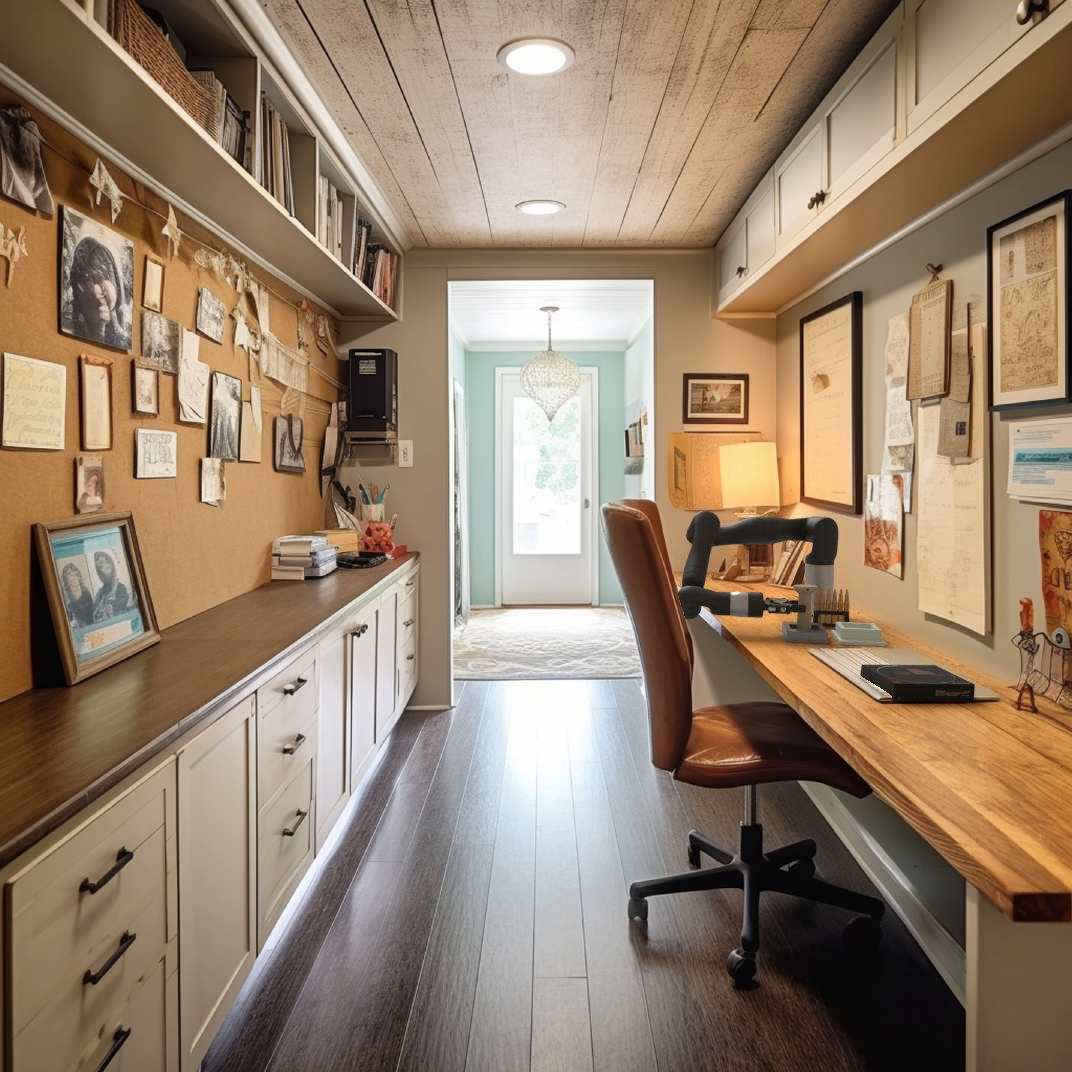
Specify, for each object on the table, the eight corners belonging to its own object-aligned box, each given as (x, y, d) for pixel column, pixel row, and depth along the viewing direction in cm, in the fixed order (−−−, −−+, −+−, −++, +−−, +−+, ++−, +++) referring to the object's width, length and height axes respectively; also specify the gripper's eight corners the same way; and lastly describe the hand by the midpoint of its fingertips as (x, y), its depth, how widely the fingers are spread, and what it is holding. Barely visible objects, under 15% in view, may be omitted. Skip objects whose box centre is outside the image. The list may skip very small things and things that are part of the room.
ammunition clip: (848, 627, 236) (849, 588, 235) (849, 628, 234) (850, 589, 233) (812, 625, 238) (813, 587, 238) (812, 626, 237) (813, 588, 236)
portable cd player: (932, 681, 173) (933, 664, 173) (973, 703, 156) (974, 684, 156) (859, 681, 173) (860, 663, 173) (893, 702, 156) (893, 683, 156)
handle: (790, 635, 223) (791, 584, 222) (812, 635, 222) (813, 584, 221) (795, 638, 218) (796, 586, 217) (817, 639, 218) (819, 587, 216)
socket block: (781, 631, 229) (781, 621, 229) (820, 632, 227) (820, 622, 226) (786, 641, 214) (786, 631, 213) (827, 643, 211) (828, 633, 211)
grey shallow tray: (830, 633, 226) (831, 619, 226) (874, 635, 223) (874, 621, 223) (839, 644, 210) (839, 630, 210) (886, 646, 208) (886, 632, 207)
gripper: (747, 595, 216) (807, 597, 212) (745, 588, 230) (801, 590, 226) (746, 621, 217) (806, 623, 213) (745, 613, 230) (801, 615, 227)
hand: (804, 606), depth 219 cm, fingers open, 8 cm apart
